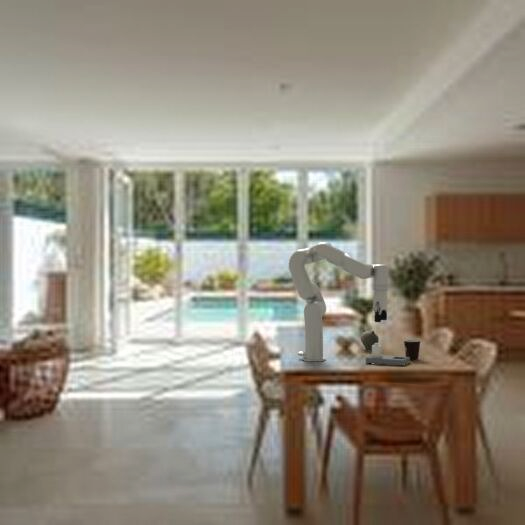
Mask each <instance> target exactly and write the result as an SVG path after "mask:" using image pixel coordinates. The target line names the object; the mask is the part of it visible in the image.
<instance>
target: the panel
mask: <svg viewBox="0 0 525 525" xmlns="http://www.w3.org/2000/svg"><path fill="white" fill-rule="evenodd" d="M409 362H410V363H411V360H410V357H406V356H400V355H385V354H382V357H381V358H376V357H372V354H371V355H369V356H367V357H366V358H365V364H366V363H374V364H373V365H379V364H389V365H388V366H395V365H404V364H406V365H408V364H409ZM407 363H408V364H407ZM404 366H405V365H404Z"/></svg>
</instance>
